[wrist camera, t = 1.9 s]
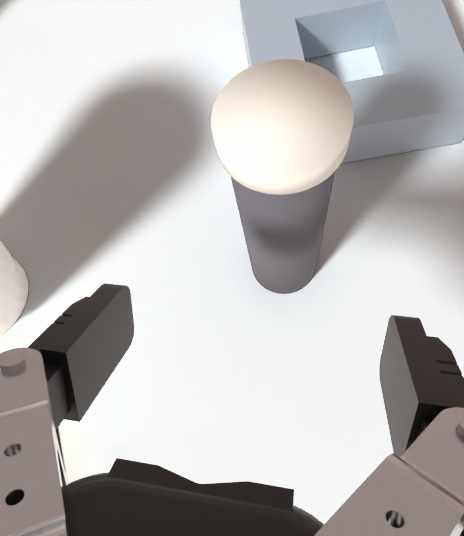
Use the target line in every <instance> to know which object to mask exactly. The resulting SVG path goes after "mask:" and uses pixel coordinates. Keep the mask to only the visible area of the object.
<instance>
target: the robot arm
mask: <svg viewBox="0 0 464 536" xmlns="http://www.w3.org/2000/svg"><path fill="white" fill-rule="evenodd" d="M133 335H134V323H133V313H132V304H131V294H130V290H129V288H128V287H127V286H122V285H113V284H103V285H101V286H100V287H99V288H98V290H97V291H96V292H95V293H94V294H93V295H92V296H91V297H85V298H83V299H81V300H79V301H77V302H76V303H74V304H72V305H71V306H70V307H69V308H68V309H67V310H66V311H65V312H64V313H63V314H62V316H60V317H59V318H58V319H57V320H55V321H54V324H51V325H50V326H49V327H48V328H47V329H46V330H45V331H44V332H43V333H42V334H41V335H40V336H39V337H38V338H37V339H36V340H35V341H34V342H33V343H32V344H31V345H30V346H29V347H28V348H17V349H12V350H9V351H6V352H3V353H1V354H0V536H464V378H463V376H461V374H462V373H461V371H460V369H459V367H458V365H457V362H456V360H455V358H454V356H453V353H452V351H451V349H450V348H448V347H447V346H446V345H445V344H444V343H443V342H442V341H441V340H440V339H439V338H437V337H428V336H426V333H425V331H424V328H423V326H422V323H421V321H420V319H419V318H413V317H404V316H395V315H392V316H391V317H390V319H389V322H388V327H387V332H386V336H385V341H384V346H383V350H382V355H381V360H380V382H381V387H382V392H383V398H384V403H385V408H386V414H387V419H388V424H389V429H390V435H391V440H392V445H393V450H394V454H391V455H389V456H388V457H387V458H386V459H385V460H384V461H383V462H382V463H381V464H380V465H379V466H378V467H377V468H376V469H375V470H374V472H373V473H372V474H371V475H370V476H369V477H368V478H367V479H366V480H365V481H364V482H363V483H362V485H361V486H360V487H359V488H358V489H357V490H356V491H355V492H354V493H353V494H352V495H351V496H350V497H349V499H348V500H347V501H346V502H345V503H344V504H343V505H342V506H341V507H340V508H339V509H338V510H337V512H336V513H335V514H334V515H333V516H332V517H331V518H330V519H329V520H328V521H327V522H326V523H325V525H324V524H323V523H322V522H320V521H319V520H318V519H316V518H315V517H314V516H312V515H311V514H309V513H307V512H306V511H304V510H302V509H300V508H298V507H296V506H294V505H293V496H294V490H293V489H287V488H281V487H276V486H270V485H265V484H259V483H253V482H233V483H216V484H198V483H195V482H193V481H190V480H188V479H186V478H184V477H182V476H179V475H177V474H175V473H173V472H171V471H169V470H166V469H164V468H162V467H160V466H157V465H151V464H146V463H140V462H135V461H129V460H123V459H118V458H117V459H116V461H115V462H114V464H113V466H112V468H111V470H110V472H109V473H102V474H97V475H92V476H89V477H85V478H82V479H79V480H77V481H74V482H72V483H70V484H69V483H68V478H67V472H66V466H65V460H64V454H63V448H62V443H61V437H60V432H59V427H58V426H59V425H60V423H61V422H62V420H63V419H67V420H73V421H79V422H80V420H81V419H82V417H83V416H84V414H85V413H86V411H87V410H88V408H89V407H90V405H91V404H92V402H93V401H94V399H95V398H96V396H97V395H98V393H99V392H100V390H101V389H102V387H103V386H104V384H105V383H106V381H107V380H108V378H109V377H110V375H111V374H112V372H113V371H114V369H115V368H116V366H117V365H118V363H119V362H120V360H121V359H122V357H123V356H124V354H125V353H126V351H127V350H128V348H129V347H130V345H131V342H132V339H133Z"/></svg>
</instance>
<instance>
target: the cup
mask: <svg viewBox="0 0 464 536" xmlns="http://www.w3.org/2000/svg"><path fill="white" fill-rule="evenodd" d="M27 296H28V279H27V276H26V273H25V270H24V269H23V268H22V266H21V265H20V264H19V262H17V261H16V260H15V259H14V258H13V257H11V255H10V253H9V251H8V250H7V249H6V247H5V246H4V244H3V243H2V242H1V241H0V335H2V334H3V333H5V332H6V331H7V330H8V329H9V328H10V327H12V326H13V324H14V323H15V322H16V320H17V319H18V318H19V317H20V315H21V313H22V311H23V309H24V307H25V305H26V301H27Z"/></svg>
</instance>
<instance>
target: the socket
mask: <svg viewBox="0 0 464 536" xmlns="http://www.w3.org/2000/svg"><path fill="white" fill-rule="evenodd" d="M240 8H241V17H242V26H243V35H244V41H245V47H246V52H247V58H248V64H249V68H250V67H252V66H254V65H257V64H260V63H263V62H267V61H272V60H280V59H293V60H301V61H305V59H309V58H314V57H319V56H325V55H330V54H335V53H340V52H345V51H351V50H356V49H361V48H366V47H371V46H375V48H376V51H377V54H378V57H379V61H380V64H381V67H382V70H383V73H384V75H382V76H377V77H372V78H366V79H361V80H356V81H350V82H345V83H343V85H344V86H345V87H346V89H347V91H348V92H349V94H350V97H351V99H352V103H353V108H354V121H353V127H352V131H351V136H350V140H349V145H348V148H347V152H346V155H345V157H344V159H343V161H342V162H341V163H346V162H352V161H357V160H363V159H369V158H375V157H381V156H386V155H392V154H398V153H404V152H410V151H415V150H421V149H427V148H433V147H439V146H444V145H450V144H456V143H461V141H462V140H463V138H464V52H463V50H462V47H461V45H460V43H459V40H458V38H457V35H456V33H455V30H454V28H453V26H452V23H451V21H450V18H449V16H448V13H447V11H446V9H445V6H444V4H443V1H442V0H240Z"/></svg>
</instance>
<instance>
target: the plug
mask: <svg viewBox="0 0 464 536" xmlns="http://www.w3.org/2000/svg"><path fill="white" fill-rule="evenodd" d="M353 121H354V108H353V103H352V99H351V97H350V94H349V92H348V91H347V89H346V87H345V86H344V85H343V83H342V82H341V81H340V80H339V79H338V78H337V77H336V76H335V75H334V74H332V73H331V72H329V71H328V70H326V69H324V68H323V67H321V66H318V65H316V64H313V63H310V62H306V61H301V60H293V59H280V60H272V61H267V62H263V63H260V64H257V65H254V66H252V67H250V68H248V69H246V70H244V71H242V72H241V73H239V74H237V75H236V76H235V77H234V78H232V79H231V80H230V81H229V82H228V83H227V84H226V85H225V86H224V88H223V89H222V90H221V91H220V93H219V95H218V96H217V98H216V101H215V103H214V105H213V109H212V113H211V130H212V134H213V138H214V142H215V146H216V150H217V154H218V157H219V159H220V162H221V164H222V165H223V167H224V169H225V170H226V171H227V172H228V174H229V175H230V176H231V179H232V183H233V187H234V192H235V196H236V200H237V205H238V209H239V213H240V218H241V222H242V226H243V231H244V235H245V239H246V244H247V248H248V252H249V257H250V261H251V265H252V270H253V273H254V276H255V277H256V279H257V281H258V282H259V283H260V284H261V285H262V286H263V287H264V288H266V289H268V290H270V291H272V292H275V293H282V294H286V293H292V292H296V291H298V290H300V289H302V288H303V287H305V286H306V285H307V284H308V283H309V282H310V281H311V279H312V277H313V275H314V273H315V270H316V264H317V259H318V254H319V249H320V244H321V239H322V234H323V229H324V224H325V218H326V213H327V208H328V203H329V198H330V193H331V188H332V183H333V178H334V172H335V170H336V169H337V168H338V167H339V165H340V164H341V162H342V161H343V159H344V157H345V155H346V152H347V148H348V145H349V140H350V136H351V131H352V127H353Z"/></svg>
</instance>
